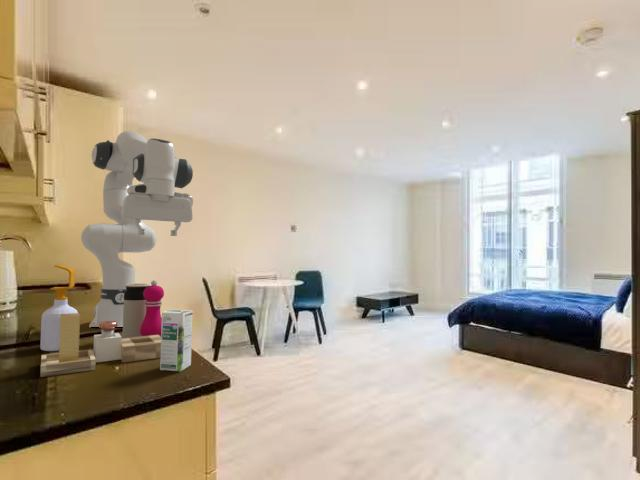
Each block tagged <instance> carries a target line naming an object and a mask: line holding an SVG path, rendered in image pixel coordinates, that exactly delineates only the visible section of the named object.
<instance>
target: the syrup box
mask: <svg viewBox="0 0 640 480" xmlns="http://www.w3.org/2000/svg"><path fill="white" fill-rule="evenodd" d="M193 310H194V309H189V310H188V309H167V310H165V311H163V312H162V313H161V318H162V327H161V357H160V358H159V370H160V371H169V372H170V371H171V372H182V371H184V370H185V369H187V368H189V367H190V366H192V344H193V343H192V341H193V340H192V339H193V317H194V316H193V315H194V312H193Z"/></svg>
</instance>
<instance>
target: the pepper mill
mask: <svg viewBox="0 0 640 480" xmlns="http://www.w3.org/2000/svg"><path fill="white" fill-rule="evenodd" d="M164 295H165V290H164V288H163V287H162V286H160V285H158V282H157V280H155V279H154V280H152V281H151V283H150V286H148V287H147V288H145V290H144V292H143V296H144V298H145V299H146V301H145V306H146V315H145V318H144V320H143V322H142V324H141V327H140V334H141V335H142V336H150V335H159V336H160V337H161V327H162V313H161V306H162V305H163V304H162V303H163V300H162V299H163V298H164Z"/></svg>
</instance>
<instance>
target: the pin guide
mask: <svg viewBox="0 0 640 480" xmlns="http://www.w3.org/2000/svg"><path fill="white" fill-rule="evenodd" d="M101 335H102V333H101V334H94V335H93V349H92V351H93V353H94V356H95V359H96V363H103V362H109V361H110V362H111V361H118V360H121V342H122V336H121V335H122V334H120V333H119V332H114V337H107V338H101Z"/></svg>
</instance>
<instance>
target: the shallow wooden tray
mask: <svg viewBox="0 0 640 480" xmlns="http://www.w3.org/2000/svg"><path fill="white" fill-rule="evenodd" d="M40 359H41V360H40V371H39V372H40V376H39V377H40V378H44V377H51V376H52V377H53V376H58V375H65V374H67V375H68V374H74V373H80V372H89V371H95V370H96V366H97V365H96V364H97V362H96V359H95V356H94V353H93V349H92V348H91V349H84V350H79V357H78V361H70V362H62V363H59V352H56V353H47V354H41V358H40Z"/></svg>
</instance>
